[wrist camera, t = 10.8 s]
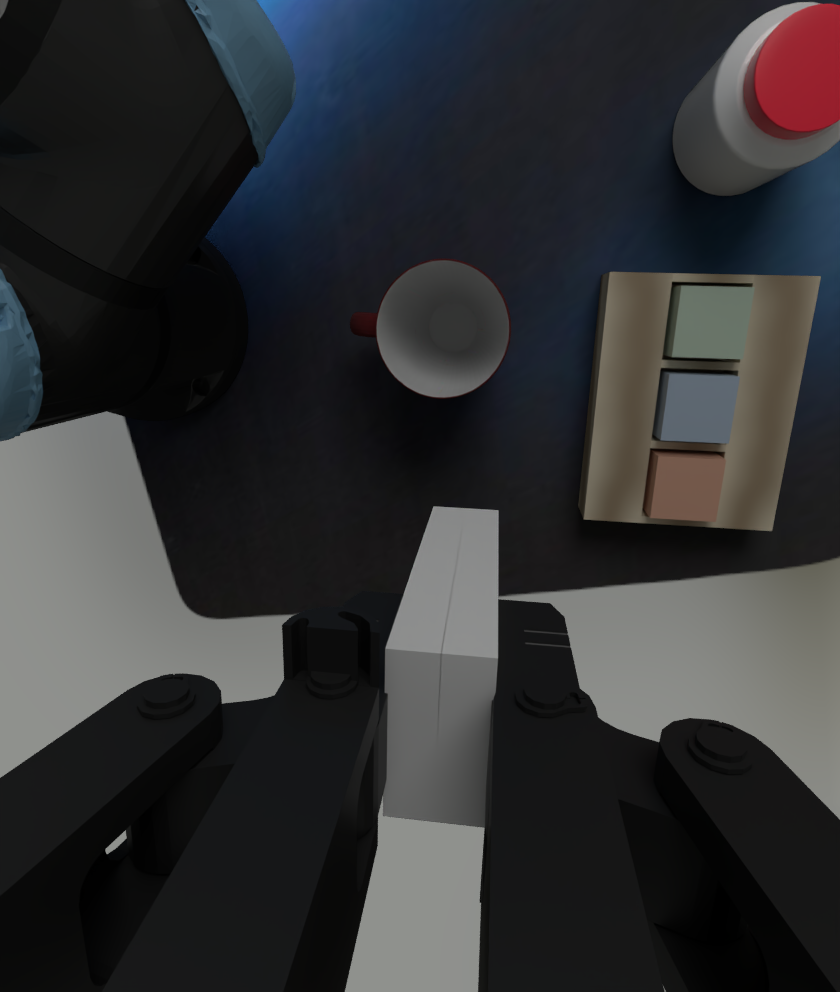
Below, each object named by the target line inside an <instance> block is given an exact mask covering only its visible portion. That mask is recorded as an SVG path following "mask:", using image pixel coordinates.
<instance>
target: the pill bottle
mask: <svg viewBox="0 0 840 992" xmlns="http://www.w3.org/2000/svg"><path fill="white" fill-rule="evenodd" d="M672 139H673V152H674V156H675V159H676V163H677V165H678V167H679V169H680V171H681V173H682V174H683V175H684V176H685V178H686V179H687V180H688V181H689V182H690V183H691V184H692V185H694V186H695V187H696V188H698V189H700V190H702V191H704V192H706V193H709V194H713V195H718V196H733V195H738V194H743V193H745V192H748V191H751V190H753V189H755V188H758V187H760V186H762V185H764V184H766V183H768V182H770V181H772V180H774V179H776V178H778V177H780V176H782V175H784V174H786V173H788V172H790V171H792V170H794V169H796V168H798V167H800V166H802V165H804V164H806V163H808V162H810V161H812V160H814V159H816V158H817V157H819V156H820V155H822V154H824V153H825V152H827V151H828V150H829V149H830V148H831V147H833V146H834V145H835V144H836V143H837V142H838V141H839V140H840V5H835V4H820V3H815V2H797V3H793V4H788V5H784V6H781V7H778V8H776V9H774V10H772V11H769V12H767V13H765V14H764V15H762V16H761V17H759V18H758V19H756V20H755V21H753V22H752V23H751V24H749V25H748V26H747V27H746V28H745V29H744V30H743V31H742V32H741V33H740V34H739V35H738V36H737V37H736V38H735V40H734V41H733V42H732V43H731V44H730V45H729V47H728V48H727V49H726V50H725V51H724V52H723V54H722V55H721V56H720V57H719V58H718V59H717V61H716V62H715V63H714V64H713V65H712V66H711V68H710V69H709V70H708V71H707V72H706V73H705V75H704V76H703V77H702V78H701V79H700V80H699V81H698V83H697V84H696V85H695V86H694V87H693V89H692V90H691V91H690V93H689V94H688V95H687V97H686V98H685V99H684V101H683V103H682V105H681V107H680V109H679V111H678V114H677V117H676V120H675V123H674V129H673V137H672Z"/></svg>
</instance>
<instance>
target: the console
mask: <svg viewBox="0 0 840 992" xmlns="http://www.w3.org/2000/svg"><path fill="white" fill-rule="evenodd" d="M820 279H821V276H782V275H733V274H684V273H636V272H608V273H606V274H603V275H602V276H601V286H600V296H599V306H598V316H597V325H596V335H595V345H594V355H593V365H592V375H591V385H590V395H589V405H588V414H587V424H586V434H585V444H584V454H583V464H582V474H581V484H580V493H579V503H578V507H579V509H580V511H581V514H582V516H583V519H584V520H601V521H617V522H633V523H649V524H666V525H682V526H698V527H714V528H730V529H747V530H763V531H772V528H773V523H774V518H775V512H776V507H777V502H778V497H779V492H780V486H781V481H782V476H783V471H784V466H785V460H786V455H787V450H788V445H789V440H790V434H791V429H792V424H793V419H794V414H795V409H796V403H797V398H798V393H799V388H800V383H801V377H802V372H803V367H804V362H805V357H806V351H807V346H808V341H809V336H810V331H811V325H812V320H813V315H814V310H815V305H816V300H817V294H818V289H819V284H820ZM676 286H722V287H755V289H754V295H753V301H752V307H751V313H750V319H749V325H748V331H747V337H746V343H745V349H744V355H743V359H718V358H689V357H670V356H666V355H663V347H664V339H665V332H666V324H667V316H668V309H669V301H670V294H671V287H676ZM660 370H665V371H693V372H720V373H728V374H731V375H735V376H739V377H740V380H739V386H738V392H737V398H736V404H735V410H734V416H733V422H732V428H731V434H730V440H729V444H726V443H706V442H685V441H664V440H660V439H658V438H657V437H656V436H654V435H653V434H652V431H653V423H654V416H655V408H656V401H657V393H658V385H659V378H660ZM650 448H659V449H680V450H700V451H713V452H715V453H716V454H718V455H720V456H721V457H723V458H724V459H726V464H725V470H724V476H723V482H722V488H721V494H720V500H719V506H718V513H717V519H716V522H708V521H691V520H675V519H659V518H650V517H649V516H648V514H647V513H646V512H645V510H644V509H643V500H644V492H645V485H646V477H647V469H648V462H649V454H650Z"/></svg>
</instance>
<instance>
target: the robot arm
mask: <svg viewBox="0 0 840 992" xmlns="http://www.w3.org/2000/svg"><path fill="white" fill-rule="evenodd" d="M295 95H296V81H295V73H294V70H293V64H292V61H291V59H290V56H289V54H288V52H287V50H286V48H285V46H284V44H283V42H282V40H281V38H280V36H279V35H278V33H277V31H276V30H275V28H274V27H273V25H272V23H271V22H270V20H269V19H268V17H267V15H266V14H265V12H264V11H263V9H262V8H261V6H260V5H259V3H258V2H257V1H256V0H0V441H4V440H9V439H11V438H14V437H15V436H20V433H22V432H26V431H30V430H34V429H38V428H42V427H46V426H50V425H54V424H58V423H62V422H66V421H70V420H74V419H78V418H82V417H86V416H90V415H94V414H98V413H102V412H105V411H108V412H111V413H115V414H118V415H122V416H125V417H129V418H133V419H138V420H147V421H160V420H169V419H174V418H178V417H181V416H184V415H188V414H191V413H194V412H196V411H199V410H201V409H203V408H205V407H207V406H208V405H210V404H211V403H213V402H214V401H215V400H217V399H218V398H219V397H220V396H221V395H222V394H223V393H224V392H225V391H226V390H227V389H228V387H229V386H230V385H231V383H232V382H233V380H234V379H235V377H236V375H237V373H238V371H239V369H240V367H241V364H242V362H243V359H244V355H245V351H246V346H247V339H248V317H247V310H246V305H245V300H244V297H243V293H242V290H241V288H240V285H239V283H238V280H237V278H236V276H235V274H234V272H233V270H232V269H231V267H230V266H229V264H228V262H227V261H226V260H225V258H224V257H223V256H222V254H221V253H220V252H219V251H218V250H217V249H216V247H215V246H214V245H213V244H212V243H210V242H209V241H208V240H207V239H206V238H205V236H206V234H207V233H208V231H209V230H210V228H211V227H212V226H213V224H214V223H215V221H216V220H217V218H218V217H219V215H220V214H221V213H222V211H223V210H224V208H225V207H226V205H227V204H228V202H229V201H230V200H231V198H232V197H233V195H234V194H235V192H236V191H237V190H238V188H239V187H240V185H241V184H242V182H243V181H244V179H245V178H246V177H247V175H248V174H249V172H250V171H251V169H252V168H253V166H254V167H256V168H258V167H259V166H260V165H261V164H262V163H263V161H264V158H265V152H266V148H267V146H268V145H269V143H270V141H271V140H272V138H273V137H274V135H275V133H276V132H277V130H278V129H279V127H280V126H281V124H282V122H283V121H284V119H285V118H286V116H287V114H288V113H289V111H290V109H291V107H292V105H293V102H294V99H295ZM282 630H283V631H282V632H283V658H284V659H283V660H284V680H283V682H282V684H281V686H280V688H279V689H278V691H277V692H276V694H275V696H272V697H268V698H263V699H259V700H252V701H243V702H233V703H225V704H222V702H221V690H220V689H219V687H218V686H217V685H216V683H215V682H214V681H212V680H210V679H208V678H205V677H203V676H200V675H192V674H175V675H173V674H169V675H163V676H160V677H158V678H154V679H151V680H147V681H144V682H142V683H141V684H138V685H137V686H135V687H133V688H131V689H129V690H127V691H126V692H124V693H123V694H121V695H120V696H118V697H117V698H116V699H114V700H113V701H111V702H110V703H108V704H107V705H105V706H104V707H102V708H101V709H100V710H99V711H97V712H95V713H94V714H92V715H91V716H90V717H88V718H87V719H85V720H84V721H82V722H81V723H79V724H78V725H76V726H75V727H74V728H72V729H71V730H69V731H68V732H66V733H65V734H63V735H62V736H61V737H59V738H58V739H56V740H55V741H53V742H52V743H50V744H49V745H47V746H46V747H45V748H43V749H42V750H40V751H39V752H37V753H36V754H34V755H33V756H32V757H30V758H29V759H27V760H26V761H25V762H23V763H22V764H20V765H19V766H17V767H16V768H14V769H13V770H11V771H10V772H8V773H7V774H5V775H4V776H3V777H1V778H0V992H345V988H346V983H347V978H348V975H349V970H350V966H351V961H352V957H353V952H354V948H355V943H356V939H357V934H358V930H359V926H360V921H361V917H362V912H363V908H364V903H365V899H366V894H367V890H368V886H369V881H370V877H371V872H372V868H373V863H374V858H375V855H376V850H377V846H378V845H377V844H378V813H379V809H380V805H381V801H382V796H383V816H388V817H397V818H405V819H414V820H423V821H431V822H440V823H449V824H458V825H467V826H475V827H484V828H485V831H484V846H483V860H482V875H481V891H480V902H481V923H480V955H479V983H478V984H479V985H478V992H664V988H665V990H666V992H840V820H839V819H838V818H837V816H836V815H835V814H834V813H833V812H832V811H831V810H830V809H829V808H828V807H827V806H826V805H825V804H824V803H823V802H822V801H821V800H820V799H819V798H818V797H817V796H816V795H815V794H814V793H813V792H812V791H811V790H810V789H809V788H808V787H807V786H806V785H805V784H804V783H803V782H802V781H801V780H800V779H799V778H798V777H797V776H796V775H795V774H794V772H793V771H792V770H791V769H790V768H789V767H788V766H787V765H786V764H785V763H784V762H783V761H782V760H781V759H780V758H779V757H778V756H777V755H776V754H775V753H774V752H773V751H772V750H771V749H770V748H768V747H767V746H766V745H765V744H763V743H762V742H761V741H759V740H758V739H757V738H756V737H754V736H752V735H750V734H748V733H746V732H744V731H742V730H740V729H738V728H736V727H734V726H732V725H729V724H726V723H723V722H722V723H720V722H719V721H714V720H707V719H693V718H689V719H683V720H679V721H674V722H672V723H670V724H669V725H668V726H666V727H665V728H664V729H662V732H661V737H660V742H656V741H652V740H649V739H646V738H642V737H639V736H636V735H633V734H630V733H627V732H624V731H622V730H619V729H617V728H615V727H613V726H611V725H609V724H607V723H605V722H604V721H602V720H601V719H600V718H598V715H597V711H596V707H595V705H594V704H593V702H592V700H591V698H590V697H589V695H587V694H586V693H585V692H584V691H582V690H581V689H580V688H579V683H578V678H577V674H576V669H575V664H574V660H573V655H572V650H571V648H570V642H569V637H568V635H567V633H568V632H567V627H566V623H565V618H564V616H563V615H561V614H560V612H559V611H557V610H556V609H555V608H554V607H553V606H552V605H551V604H550V603H538V602H525V601H512V600H499V599H498V510H484V509H468V508H451V507H435V506H434V507H433V510H432V513H431V516H430V519H429V522H428V524H427V527H426V530H425V533H424V536H423V539H422V542H421V545H420V548H419V551H418V554H417V557H416V560H415V563H414V566H413V569H412V571H411V574H410V577H409V580H408V583H407V586H406V589H405V592H404V594H394V593H380V592H367V591H362V592H361V593H359V594H357V595H356V596H354V597H353V598H351V599H350V600H348V601H347V602H345V604H344V606H343V607H322V608H316V609H311V610H306V611H304V612H301V613H299V614H297V615H294V616H292V617H291V618H289V619H288V620H287V621H286V622H285V623H284V624H283V625H282ZM125 830H126V836H127V839H126V840H125V841H124V842H123V843H122V844H120V845H119V846H118V848H116V849H115V850H113V851H112V852H110V853H109V854H106V852H105V849H106V848H107V847H108V846H109V845H110V844H111V843H112V842H113V841H114V840H115V839H116V838H117V837H119V836H120V835H121V834H122V833H123V832H124V831H125ZM663 986H664V988H663Z"/></svg>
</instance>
